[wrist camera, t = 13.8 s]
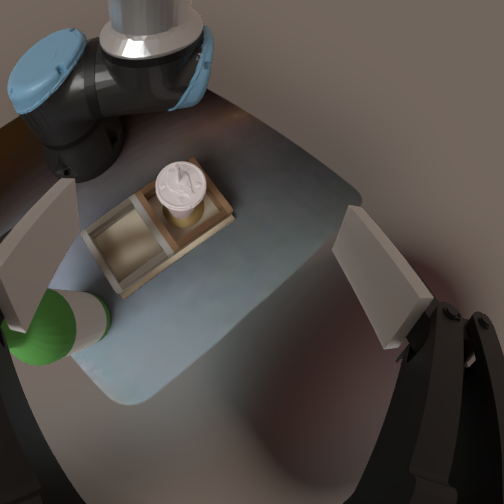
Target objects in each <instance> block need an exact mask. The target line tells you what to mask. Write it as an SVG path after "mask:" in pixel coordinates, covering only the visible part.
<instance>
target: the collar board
mask: <svg viewBox="0 0 504 504" xmlns="http://www.w3.org/2000/svg"><path fill="white" fill-rule="evenodd" d="M185 162H190V163H192V164H194V165H196V166H197V167H199V168H200V169H201V171H202V172H203V173H204V176H205V178H206V193H205V195H204V197H203V199H202V201H201V202H200V203H199V204H198V205H196V207H195V209H194V210H193V212H192V214H191V215H190V216H189V217H188V218H186V219H177V218H175V217H173V216H172V214H171V213H170V211H169V210H168V208H167V207H166V206H164V205H163V204H162V203H161V202H160V200H159V199H158V197H157V194H156V180H154V181H153V182H151V183H149V184H148V185H146V186H145V187H143V188H142V189H140V190H139V191H137V192H136V193H134V194H133V195H131V196H130V197H129V198H127V199H126V200H124V201H123V202H121V203H120V204H118V205H117V206H116V207H114V208H113V209H111V210H110V211H109V212H107V213H106V214H105V215H103V216H102V217H100V218H99V219H98V220H96V221H95V222H94V223H92V224H91V225H90V226H88V227H87V228H86V229H85V230H83V231H82V232H81V233H80V234H81V236H82V238H83V240H84V241H85V243H86V245H87V247H88V248H89V250H90V252H91V253H92V255H93V257H94V259H95V260H96V262H97V264H98V265H99V267H100V268H101V270H102V272H103V273H104V275H105V276H106V278H107V280H108V281H109V283H110V284H111V286H112V287H113V289H114V290H115V292H116V294H120V296H121V297H122V299H126V298H127V297H128V296H130V295H131V294H132V293H134V292H135V291H136V290H138V289H139V288H140V287H142V286H143V285H144V284H146V283H147V282H148V281H150V280H151V279H152V278H154V277H155V276H156V275H158V274H159V273H161V272H162V271H163V270H165V269H166V268H167V267H169V266H170V265H172V264H173V263H174V262H176V261H177V260H178V259H180V258H181V257H183V256H184V255H185V254H187V253H188V252H190V251H191V250H192V249H194V248H195V247H197V246H198V245H199V244H201V243H202V242H204V241H205V240H207V239H208V238H209V237H211V236H212V235H214V234H215V233H216V232H218V231H219V230H221V229H222V228H224V227H225V226H227V225H228V224H229V223H231V222H232V221H234V217H233V216H232V212H233V209H232V207H231V206H230V205H229V203H228V202H227V201H226V199H225V198H224V197H223V195H222V194H221V193H220V191H219V190H218V189H217V187H216V186H215V185H214V183H213V182H212V181H211V179H210V178H209V177H208V175H207V174H206V173H205V171H204V170H203V169H202V167H201V166H200V165H199V163H198V162H197V161H196V159H195V158H194V157H192V158H190V159H188V160H186V161H185Z"/></svg>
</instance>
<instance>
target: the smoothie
mask: <svg viewBox="0 0 504 504" xmlns="http://www.w3.org/2000/svg"><path fill="white" fill-rule="evenodd" d="M205 193H206V178H205V176H204V173H203V172H202V171H201V169H200V168H199V167H197V166H196V165H194V164H192V163H190V162H185V161H179V162H174V163H171V164H169V165H167V166H166V167H164V168H163V169H162V170H161V172H160V173H159V175H158V177H157V179H156V194H157V197H158V199H159V200H160V202H161V203H162V204H163V205H164V206H166V207H167V208H168V210H169V211H170V213H171V214H172V216H173V217H175V218H177V219H186V218H188V217H189V216H190V215H191V214H192V212H193V210H194V209H195V207H196V205H198V204H199V203H200V202H201V201H202V199H203V197H204V195H205Z"/></svg>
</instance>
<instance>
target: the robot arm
mask: <svg viewBox="0 0 504 504" xmlns="http://www.w3.org/2000/svg"><path fill="white" fill-rule="evenodd" d="M191 6H192V0H108V8H109V15H110V20H109V21H108V22H107V23H106V25H105V26H104V27H103V29H102V31H101V33H100V37H97V38H92V39H88V40H87V39H86V36H85V34H83V32H82V31H80V30H78V29H76V30H75V29H74V28H67V29H63V30H60V31H57V32H54V33H52V34H50V35H48V36H46V37H45V38H43V39H42V40H40V41H39V42H37V43H36V44H35V45H33V46H32V47H31V48H30V49H29V50H28V51H27V52H26V53H25V54H24V55H23V56H22V57H21V59H20V60H19V61H18V62H17V64H16V65H15V67H14V69H13V71H12V73H11V75H10V77H9V81H8V87H7V90H8V95H9V97H10V99H11V101H12V103H13V105H14V107H15V110H16V112H17V113H19V115H20V116H21V117H22V119H23V120H24V121H25V123H26V124H27V125H28V126H29V128H30V129H31V130H32V132H33V133H34V134H35V135H36V137H37V138H38V139H39V140H40V141H41V143H42V147H43V152H44V157H45V161H46V164H47V166H48V168H49V169H50V170H51V171H52V173H53V174H54V175H55V176H56V177H57V178H59V179H60V180H59V181H58V182H57V183H56V184H55V185H54V186H53V187H52V188H51V189H50V190H49V191H48V192H47V193H46V194H45V195H44V196H43V197H42V198H41V199H40V200H39V201H38V202H37V203H36V204H35V205H34V206H33V207H32V208H31V209H30V210H29V211H28V212H27V213H26V215H25V216H24V217H23V218H22V219H21V220H20V221H19V222H18V223H17V225H16V226H15V227H14V228H13V229H10V230H9V231H8V232H6V233H5V234H4V235H2V236H1V237H0V504H86V503H85V502H84V501H83V499H82V498H81V497H80V495H79V494H78V492H77V491H76V489H75V488H74V487H73V485H72V484H71V482H70V481H69V479H68V478H67V476H66V474H65V473H64V471H63V470H62V468H61V466H60V465H59V463H58V461H57V460H56V458H55V456H54V454H53V453H52V451H51V449H50V447H49V446H48V444H47V442H46V440H45V438H44V436H43V434H42V432H41V430H40V428H39V426H38V424H37V422H36V420H35V417H34V415H33V413H32V411H31V409H30V406H29V404H28V402H27V399H26V397H25V394H24V392H23V389H22V387H21V384H20V381H19V379H18V376H17V373H16V370H15V367H14V364H13V361H12V358H11V355H10V352H9V348H8V345H7V341H6V338H5V334H4V331H3V329H2V327H1V324H2V322H3V320H4V318H5V320H6V322H7V324H8V326H9V328H10V330H14V331H18V332H22V333H26V332H27V330H28V328H29V325H30V323H31V321H32V319H33V316H34V314H35V312H36V310H37V308H38V306H39V304H40V301H41V299H42V297H43V295H44V293H45V291H46V289H47V287H48V285H49V284H50V282H51V280H52V278H53V276H54V274H55V272H56V270H57V269H58V267H59V265H60V263H61V261H62V260H63V258H64V256H65V254H66V253H67V251H68V249H69V248H70V246H71V244H72V243H73V241H74V239H75V238H76V236H77V235H78V233H79V231H80V223H79V215H78V207H77V197H76V186H75V183H81V182H85V181H89V180H91V179H93V178H95V177H97V176H99V175H100V174H102V173H103V172H104V171H106V170H107V169H108V168H109V167H110V166H111V165H112V164H113V163H114V161H115V160H116V158H117V157H118V155H119V153H120V151H121V149H122V146H123V141H124V131H123V127H122V123H121V120H120V118H119V116H122V115H130V114H138V113H147V112H158V111H173V110H175V109H179V108H187V107H192V106H194V105H196V104H197V103H199V102H200V100H201V99H202V97H203V96H204V94H205V91H206V88H207V85H208V82H209V77H210V73H211V66H210V65H211V63H212V59H213V50H214V39H213V33H212V30H211V29H210V28H209V27H207V26H204V25H203V20H202V18H201V16H200V15H199V13H197V12H196V11H195V10H194V9H192V8H191ZM332 251H333V253H334V255H335V257H336V258H337V260H338V262H339V264H340V265H341V267H342V269H343V271H344V273H345V275H346V276H347V278H348V280H349V282H350V284H351V285H352V287H353V289H354V291H355V293H356V295H357V297H358V299H359V301H360V303H361V304H362V306H363V308H364V310H365V312H366V314H367V316H368V318H369V320H370V322H371V324H372V326H373V328H374V330H375V332H376V334H377V336H378V338H379V340H380V342H381V344H382V346H383V348H384V349H390V348H398V347H399V346H400V344H401V343H402V342H403V340H404V339H405V338H407V340H408V342H409V344H408V346H407V347H406V348H405V350H404V351H403V352H402V353H401V354H400V355H399V357H398V358H397V360H396V362H398V361H399V360H400V359H402V358H403V359H402V363H401V367H400V371H399V375H398V378H397V382H396V385H395V389H394V392H393V396H392V399H391V402H390V405H389V408H388V411H387V414H386V417H385V420H384V423H383V426H382V428H381V431H380V434H379V437H378V439H377V442H376V444H375V447H374V449H373V452H372V454H371V456H370V459H369V461H368V464H367V466H366V468H365V471H364V473H363V475H362V477H361V479H360V481H359V483H358V485H357V487H356V489H355V491H354V493H353V494H352V495H351V496H350V497H349V498H348V499H347V500H346V501H345V502H344V503H343V504H504V356H503V352H502V349H501V346H500V343H499V340H498V337H497V334H496V332H495V329H494V326H493V324H492V322H491V321H490V319H489V318H488V316H486V315H485V314H483V313H481V312H474V314H473V315H472V316H471V318H470V319H469V320H467V319H464V318H462V316H461V314H460V313H459V311H458V310H457V309H456V308H455V307H454V306H452V305H451V304H449V303H446V302H441V303H439V301H438V300H437V299H436V297H435V296H434V294H433V293H432V292H431V290H430V289H429V287H428V286H427V285H426V283H424V282H423V279H422V278H421V277H420V276H419V274H418V273H417V271H416V270H415V269H414V268H413V266H411V265H410V264H409V263H408V262H407V261H406V260H405V259H404V257H403V256H402V255H401V253H399V251H398V250H397V248H396V247H395V246H394V245H393V243H392V242H391V241H390V240H389V239H388V237H387V236H386V235H385V234H384V233H383V231H382V230H381V229H380V228H379V227H378V226H377V224H376V223H375V222H374V221H373V220H372V219H371V218H370V216H369V215H368V214H367V213H366V212H365V211H364V210H363V209H362V207H357V206H352V205H349V206H348V209H347V211H346V214H345V217H344V220H343V222H342V225H341V228H340V230H339V233H338V236H337V238H336V241H335V244H334V246H333V249H332ZM474 355H475V357H476V361H475V362H474V363H473V364H472V365H471V366H470V367H468V366H467V362H468V361H469V360H470V359H471V358H472V356H474Z"/></svg>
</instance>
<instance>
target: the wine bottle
mask: <svg viewBox="0 0 504 504" xmlns="http://www.w3.org/2000/svg"><path fill="white" fill-rule="evenodd" d="M110 323H111V322H110V313H109V309H108V307H107V306H106V304H105V303H104V301H103V300H102V299H101V298H99V297H98V296H96V295H94V294H91V293H87V292H78V291H68V290H58V289H49V288H47V289H46V291H45V293H44V295H43V297H42V299H41V301H40V304H39V306H38V308H37V310H36V312H35V314H34V316H33V319H32V321H31V323H30V325H29V328H28V330H27V332H26V333H22V332H18V331H14V330H10V328H9V326H8V324H7V322H6V320H5V318H4V320H3V322H2V324H1V327H2V329H3V331H4V334H5V338H6V341H7V345H8V348H9V350H10V351H11V353H12V354H13V355H15V356H16V357H17V358H18V359H19V360H21V361H23V362H25V363H27V364H31V365H38V366H40V365H46V364H50V363H52V362H54V361H57V360H60V359H62V358H64V357H66V356H68V355H71V354H73V353H75V352H77V351H80V350H82V349H84V348H86V347H88V346H91V345H93V344H94V343H97V342H98V341H100V340H102V339H103V338H104V337H105V335H106V334H107V332H108V330H109V327H110Z"/></svg>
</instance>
